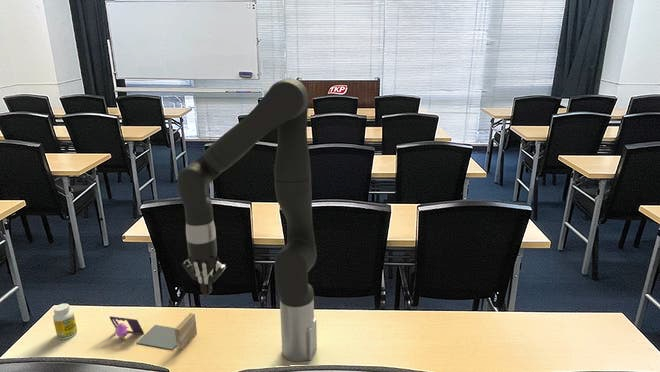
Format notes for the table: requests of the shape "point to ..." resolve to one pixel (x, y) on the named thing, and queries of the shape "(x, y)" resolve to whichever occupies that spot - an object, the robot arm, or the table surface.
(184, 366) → the table surface
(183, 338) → the tile
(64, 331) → the supplement bottle
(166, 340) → the felt mat
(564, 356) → the table surface
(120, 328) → the purple toy case
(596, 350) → the table surface
